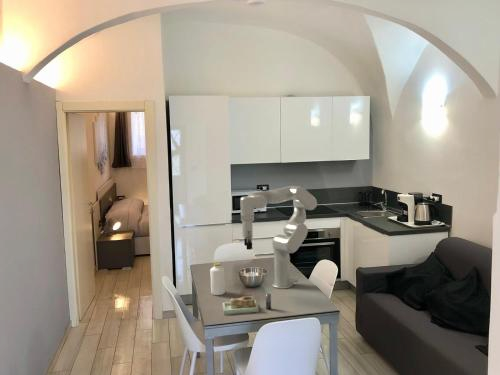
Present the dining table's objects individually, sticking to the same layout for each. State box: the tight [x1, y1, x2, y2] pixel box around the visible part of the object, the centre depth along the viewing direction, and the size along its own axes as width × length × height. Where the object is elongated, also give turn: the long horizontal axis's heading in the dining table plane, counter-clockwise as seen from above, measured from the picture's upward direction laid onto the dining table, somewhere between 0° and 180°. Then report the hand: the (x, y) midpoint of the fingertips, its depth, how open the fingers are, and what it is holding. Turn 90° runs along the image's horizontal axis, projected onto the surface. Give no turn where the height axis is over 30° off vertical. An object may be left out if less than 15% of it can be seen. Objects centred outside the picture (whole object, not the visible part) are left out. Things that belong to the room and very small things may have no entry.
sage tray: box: [221, 299, 259, 316], centre depth 241 cm, size 18×12×2 cm, turn 98°
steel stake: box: [265, 293, 272, 311], centre depth 240 cm, size 3×3×8 cm
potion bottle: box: [209, 262, 226, 296], centre depth 266 cm, size 8×8×18 cm
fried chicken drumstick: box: [230, 295, 255, 309], centre depth 241 cm, size 12×6×5 cm, turn 97°
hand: (248, 247), depth 260 cm, fingers open, 9 cm apart
